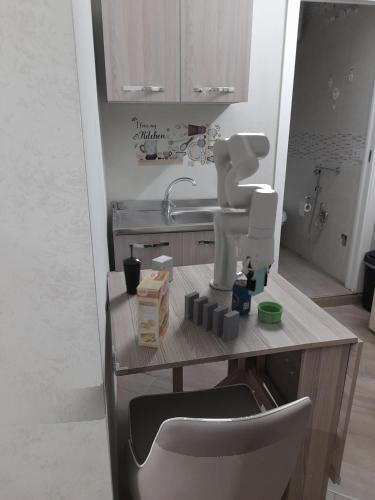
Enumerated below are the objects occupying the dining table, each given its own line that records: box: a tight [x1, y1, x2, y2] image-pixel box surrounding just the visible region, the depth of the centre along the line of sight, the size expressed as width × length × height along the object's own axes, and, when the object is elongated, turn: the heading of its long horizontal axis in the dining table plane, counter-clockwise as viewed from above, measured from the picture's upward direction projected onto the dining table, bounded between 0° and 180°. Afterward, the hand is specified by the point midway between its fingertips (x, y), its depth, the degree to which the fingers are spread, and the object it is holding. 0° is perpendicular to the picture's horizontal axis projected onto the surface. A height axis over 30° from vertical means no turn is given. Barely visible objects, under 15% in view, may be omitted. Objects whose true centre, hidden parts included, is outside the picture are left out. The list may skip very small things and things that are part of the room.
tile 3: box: [192, 295, 209, 326], centre depth 127 cm, size 5×2×9 cm, turn 132°
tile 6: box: [222, 310, 240, 344], centre depth 117 cm, size 5×2×9 cm, turn 132°
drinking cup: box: [121, 244, 143, 295], centre depth 147 cm, size 8×8×20 cm
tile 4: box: [202, 299, 219, 332], centre depth 123 cm, size 5×2×9 cm, turn 132°
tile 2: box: [183, 291, 200, 321], centre depth 130 cm, size 5×2×9 cm, turn 132°
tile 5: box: [211, 304, 229, 337], centre depth 120 cm, size 5×2×9 cm, turn 132°
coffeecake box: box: [136, 269, 170, 349], centre depth 117 cm, size 15×7×20 cm, turn 171°
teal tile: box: [248, 267, 266, 297], centre depth 114 cm, size 5×2×9 cm, turn 132°
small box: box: [151, 254, 174, 282], centre depth 160 cm, size 8×6×10 cm
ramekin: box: [256, 300, 284, 324], centre depth 131 cm, size 9×9×4 cm
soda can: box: [230, 278, 253, 317], centre depth 133 cm, size 7×7×12 cm
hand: (256, 287), depth 115 cm, fingers closed on teal tile, 4 cm apart
